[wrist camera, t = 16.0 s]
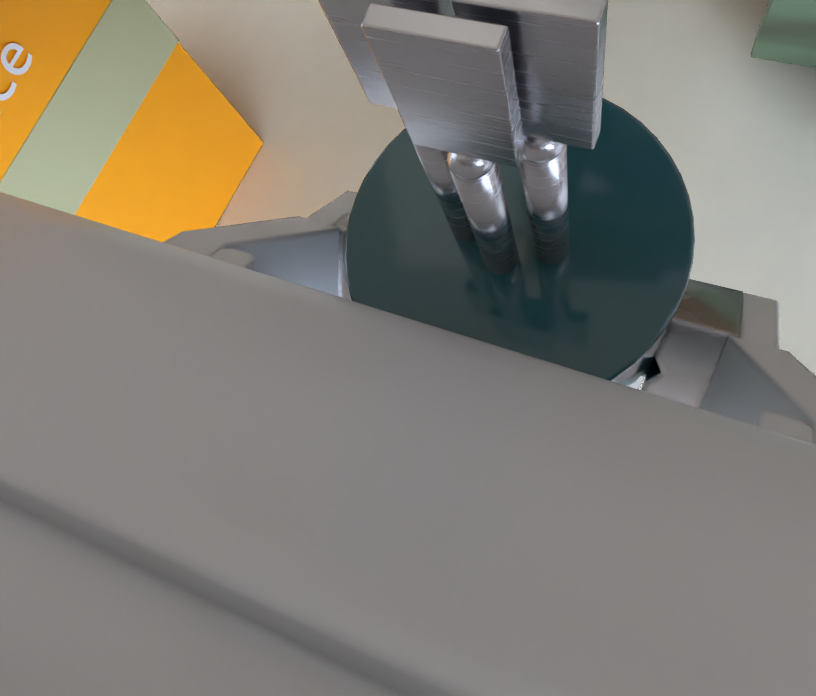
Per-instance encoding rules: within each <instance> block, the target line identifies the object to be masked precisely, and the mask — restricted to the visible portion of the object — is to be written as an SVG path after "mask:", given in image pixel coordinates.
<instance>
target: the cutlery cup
mask: <svg viewBox="0 0 816 696" xmlns="http://www.w3.org/2000/svg"><path fill="white" fill-rule="evenodd" d="M318 1H319V3H320V5H321V7H322V9H323V11H324V13H325V15H326V17H327V19H328V21H329V23H330V25H331V27H332V29H333V31H334V33H335V35H336V37H337V39H338V41H339V43H340V45H341V47H342V49H343V51H344V53H345V55H346V57H347V58H348V60H349V62H350V64H351V66H352V68H353V70H354V72H355V74H356V76H357V78H358V80H359V82H360V84H361V86H362V88H363V90H364V92H365V94H366V96H367V98H368V100H369V102H371V103H375V104H380V105H384V106H389V107H394V108H397V109H398V111H399V114H400V116H401V118H402V120H403V123H404V125H405V127H406V128H405V129H404V130H403V131H402V132H401V133H400V134H399V135H398V136H397V137H396V138H395V139H394V140H393V141H392V142H391V143H390V144H389V145H388V146H387V147H386V148H385V149H384V151H383V152H382V153H381V154H380V156H379V157H378V158H377V159H376V161H375V162H374V164H373V165H372V167H371V169H370V170H369V172H368V173H367V175H366V177H365V178H364V180H363V182H362V185H361V187H360V189H359V191H358V193H357V195H356V198H355V201H354V204H353V207H352V210H351V213H350V216H349V221H348V226H347V232H346V237H345V253H344V261H345V274H346V281H347V286H348V291H349V295H350V299H351V301H354V302H357V303H360V304H364V305H367V306H370V307H373V308H377V309H380V310H383V311H386V312H389V313H393V314H396V315H399V316H402V317H406V318H409V319H412V320H415V321H419V322H422V323H425V324H428V325H431V326H435V327H438V328H441V329H444V330H448V331H451V332H454V333H457V334H461V335H464V336H467V337H470V338H473V339H477V340H480V341H483V342H486V343H490V344H493V345H496V346H499V347H502V348H506V349H509V350H512V351H515V352H519V353H522V354H525V355H528V356H532V357H535V358H538V359H541V360H544V361H548V362H551V363H554V364H557V365H561V366H564V367H567V368H570V369H574V370H577V371H580V372H583V373H586V374H590V375H593V376H596V377H599V378H603V379H606V380H609V381H612V382H616V383H619V384H622V385H625V386H628V387H632V388H635V389H638V390H639V387H640V385H641V383H642V381H643V379H644V377H645V375H646V372H647V370H648V368H649V366H650V364H651V362H652V360H653V358H654V357H655V353H656V351H657V349H658V348H659V346H660V344H661V342H662V340H663V338H664V336H665V334H666V332H667V330H668V328H669V326H670V324H671V322H672V320H673V318H674V315H675V313H676V311H677V309H678V307H679V305H680V302H681V300H682V297H683V295H684V292H685V290H686V287H687V285H688V280H689V276H690V272H691V268H692V264H693V255H694V243H695V234H694V218H693V212H692V208H691V203H690V198H689V194H688V192H687V189H686V186H685V184H684V181H683V178H682V176H681V174H680V172H679V170H678V168H677V166H676V165H675V163H674V161H673V159H672V157H671V156H670V154H669V153H668V152H667V150H666V149H665V148H664V146H663V145H662V144H661V143H660V141H659V140H658V139H657V137H656V136H655V135H654V134H652V133H651V132H650V131H649V130H648V129H647V128H646V127H645V126H644V125H643V124H642V123H641V122H640V121H639V120H637V119H636V118H635V117H633V116H632V115H631V114H629V113H628V112H627V111H625V110H624V109H622V108H620V107H619V106H617V105H615V104H613V103H611V102H609V101H608V100H606V99H604V98H602V94H603V77H604V60H605V43H606V26H607V9H608V0H318ZM451 2H452V3H451Z"/></svg>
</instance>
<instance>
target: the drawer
mask: <svg viewBox="0 0 816 696" xmlns="http://www.w3.org/2000/svg"><path fill="white" fill-rule="evenodd" d="M751 57H753V58H760V59H766V60H772V61H778V62H784V63H791V64H797V65H803V66H809V67H816V0H769V2H768V4H767V7H766V10H765V13H764V15H763V18H762V21H761V23H760V26H759V29H758V33H757V36H756V39H755V42H754V45H753V48H752V52H751Z"/></svg>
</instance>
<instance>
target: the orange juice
mask: <svg viewBox="0 0 816 696" xmlns="http://www.w3.org/2000/svg"><path fill="white" fill-rule="evenodd" d="M262 144H263V142H262V140H261V139H260V138H259V137H258V136H257V134H256V133H255V132H254V131H253V130H252V129H251V127H250V126H249V125H248V124H247V123H246V121H245V120H244V119H243V118H242V117H241V116H240V114H239V113H238V112H237V111H236V110H235V108H234V107H233V106H232V105H231V104H230V103H229V101H228V100H227V99H226V98H225V97H224V95H223V94H222V93H221V92H220V91H219V90H218V88H217V87H216V86H215V85H214V84H213V83H212V81H211V80H210V79H209V78H208V77H207V75H206V74H205V73H204V72H203V71H202V70H201V68H200V67H199V66H198V65H197V64H196V62H195V61H194V60H193V59H192V58H191V57H190V55H189V54H188V53H187V52H186V51H185V49H184V48H183V47H182V46H181V45H180V44H179V40H178V39H177V37H176V36H175V35H174V34H173V33H172V31H171V30H170V29H169V28H168V27H167V26H166V24H165V23H164V22H163V21H162V20H161V18H160V17H159V16H158V15H157V14H156V12H155V11H154V10H153V9H152V8H151V7H150V5H149V4H148V3H147V2H146V1H145V0H0V192H2V193H5V194H9V195H12V196H15V197H18V198H21V199H25V200H28V201H31V202H34V203H38V204H41V205H44V206H47V207H50V208H54V209H57V210H60V211H63V212H67V213H70V214H73V215H76V216H80V217H83V218H86V219H89V220H92V221H96V222H99V223H102V224H105V225H109V226H112V227H115V228H118V229H122V230H125V231H128V232H131V233H134V234H138V235H141V236H144V237H147V238H151V239H154V240H157V241H160V242H164V241H166V240H168V239H170V238H171V237H173V236H175V235H177V234H179V233H180V232H183V231H190V230H198V229H206V228H213V227H215V226H216V224H217V222H218V221H219V219H220V217H221V215H222V214H223V212H224V210H225V209H226V207H227V205H228V203H229V202H230V200H231V198H232V196H233V195H234V193H235V191H236V189H237V188H238V186H239V184H240V183H241V181H242V179H243V177H244V176H245V174H246V172H247V170H248V169H249V167H250V165H251V163H252V162H253V160H254V158H255V157H256V155H257V153H258V151H259V150H260V148H261V146H262Z"/></svg>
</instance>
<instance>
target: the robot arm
mask: <svg viewBox="0 0 816 696" xmlns="http://www.w3.org/2000/svg"><path fill="white" fill-rule="evenodd" d="M356 195H357V192H353V191H346V192H345V193H343V194H342V195H340V196H339V197H337V198H336V199H334V200H333V201H331V202H330V203H328V204H327V205H325V206H324V207H322V208H321V209H319V210H318V211H316V212H315V213H313V214H312V215H310V216H309V217H307V218H303V217H300V216H297V217H290V218H282V219H275V220H267V221H259V222H252V223H244V224H236V225H229V226H221V227H213V228H206V229H198V230H190V231H183V232H180V233H179V234H177V235H175V236H173V237H171V238H170V239H168V240H166V241H164V242H160V241H157V240H154V239H151V238H147V237H144V236H141V235H138V234H134V233H131V232H128V231H125V230H122V229H118V228H115V227H112V226H109V225H105V224H102V223H99V222H96V221H92V220H89V219H86V218H83V217H80V216H76V215H73V214H70V213H67V212H63V211H60V210H57V209H54V208H50V207H47V206H44V205H41V204H38V203H34V202H31V201H28V200H25V199H21V198H18V197H15V196H12V195H9V194H5V193H2V192H0V696H816V376H815V375H814V374H813V373H812V372H810V371H809V370H808V369H807V368H806V367H805V366H804V365H803V364H802V363H801V362H799V361H798V360H797V359H796V358H795V357H794V356H793V355H792V354H791V353H789V352H787V351H784V350H780V349H779V302H777V301H776V300H773V299H769V298H764V297H760V296H756V295H751V294H747V293H743V292H742V291H738V290H734V289H730V288H725V287H721V286H717V285H713V284H708V283H704V282H700V281H696V280H691V279H689V280H688V285H687V287H686V290H685V292H684V295H683V297H682V300H681V302H680V305H679V307H678V309H677V311H676V313H675V315H674V318H673V320H672V322H671V324H670V326H669V328H668V330H667V332H666V334H665V336H664V338H663V340H662V342H661V344H660V346H659V348H658V349H657V351H656V353H655V357H654V358H653V360H652V362H651V364H650V366H649V368H648V370H647V372H646V375H645V381H644V383H643V386H642V389H641V390H638V389H635V388H632V387H628V386H625V385H622V384H619V383H616V382H612V381H609V380H606V379H603V378H599V377H596V376H593V375H590V374H586V373H583V372H580V371H577V370H574V369H570V368H567V367H564V366H561V365H557V364H554V363H551V362H548V361H544V360H541V359H538V358H535V357H532V356H528V355H525V354H522V353H519V352H515V351H512V350H509V349H506V348H502V347H499V346H496V345H493V344H490V343H486V342H483V341H480V340H477V339H473V338H470V337H467V336H464V335H461V334H457V333H454V332H451V331H448V330H444V329H441V328H438V327H435V326H431V325H428V324H425V323H422V322H419V321H415V320H412V319H409V318H406V317H402V316H399V315H396V314H393V313H389V312H386V311H383V310H380V309H377V308H373V307H370V306H367V305H364V304H360V303H357V302H354V301H351V299H350V295H349V291H348V286H347V281H346V274H345V261H344V253H345V237H346V232H347V226H348V221H349V216H350V213H351V210H352V207H353V204H354V201H355V198H356Z"/></svg>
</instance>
